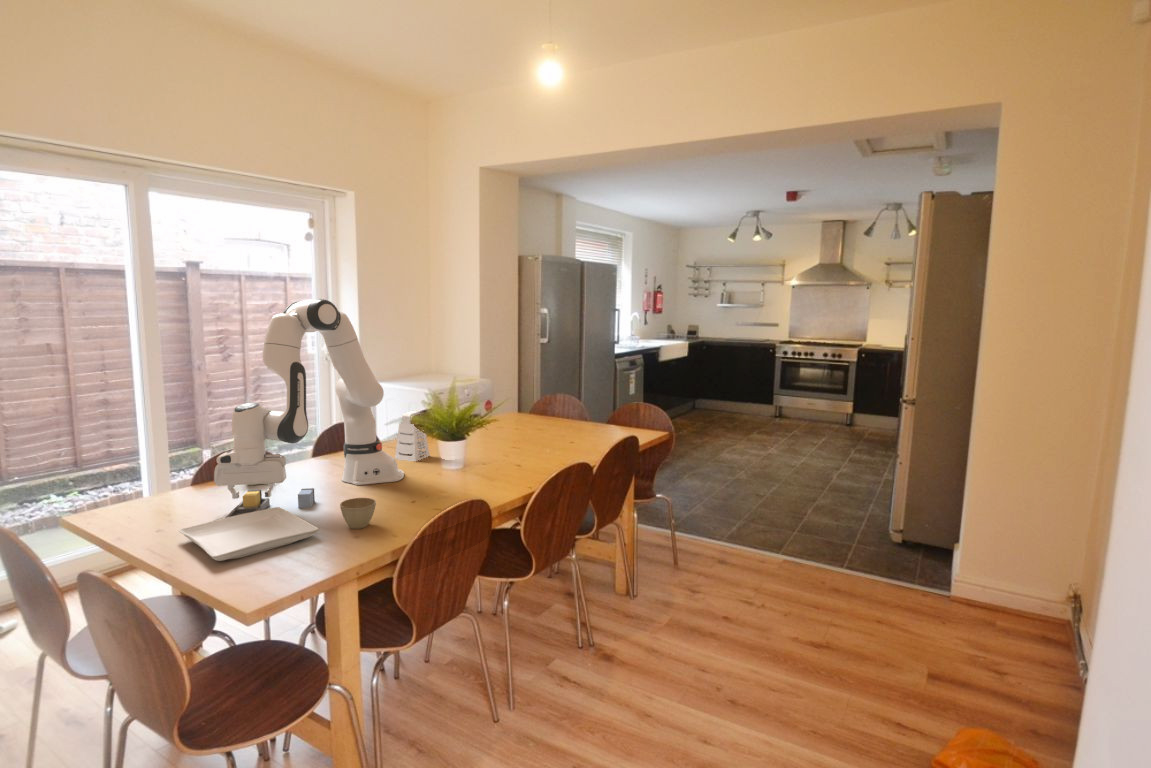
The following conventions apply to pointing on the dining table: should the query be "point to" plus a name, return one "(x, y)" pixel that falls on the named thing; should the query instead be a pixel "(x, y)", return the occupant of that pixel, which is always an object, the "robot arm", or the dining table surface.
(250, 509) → the grey flat frame
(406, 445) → the grater
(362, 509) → the flower pot
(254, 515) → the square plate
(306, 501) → the plug slate
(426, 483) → the dining table surface
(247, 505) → the yellow block
